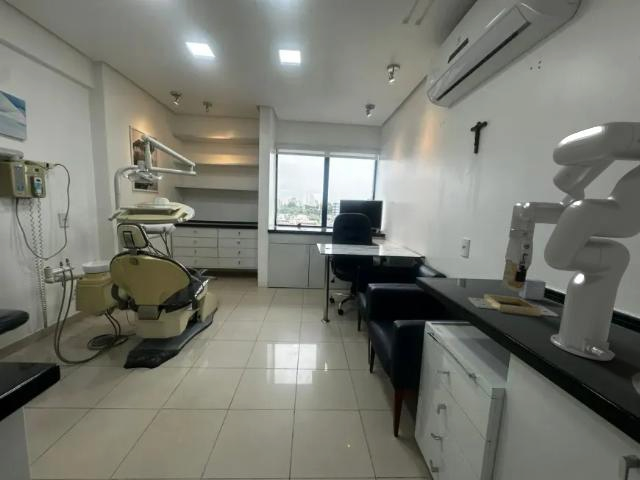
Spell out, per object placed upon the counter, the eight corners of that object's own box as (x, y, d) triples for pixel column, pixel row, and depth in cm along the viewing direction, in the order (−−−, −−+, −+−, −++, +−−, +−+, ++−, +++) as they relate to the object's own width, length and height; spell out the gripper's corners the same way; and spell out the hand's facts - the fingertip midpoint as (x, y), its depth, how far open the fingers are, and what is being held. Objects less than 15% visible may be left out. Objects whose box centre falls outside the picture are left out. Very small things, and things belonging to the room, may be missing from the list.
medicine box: (536, 297, 123) (539, 279, 122) (543, 300, 119) (546, 282, 118) (518, 295, 124) (521, 277, 123) (524, 299, 120) (527, 280, 119)
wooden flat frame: (561, 318, 98) (562, 312, 97) (479, 309, 103) (479, 302, 102) (538, 305, 111) (539, 299, 111) (466, 297, 116) (467, 292, 116)
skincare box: (500, 287, 109) (505, 257, 107) (508, 286, 110) (513, 257, 108) (516, 292, 103) (521, 261, 101) (524, 291, 104) (529, 261, 102)
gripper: (546, 238, 94) (538, 286, 97) (519, 233, 111) (512, 274, 114) (522, 236, 96) (515, 283, 98) (499, 232, 113) (493, 272, 115)
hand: (514, 278), depth 106 cm, fingers closed on skincare box, 7 cm apart
